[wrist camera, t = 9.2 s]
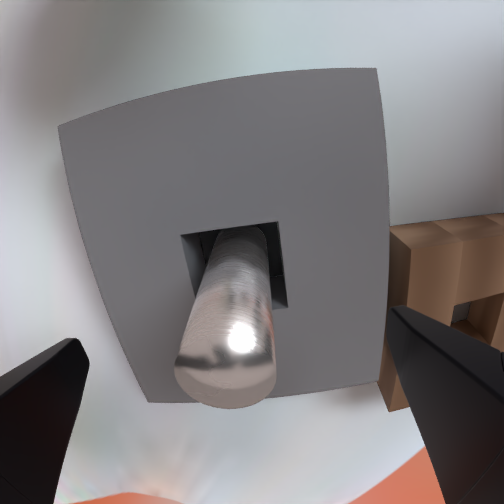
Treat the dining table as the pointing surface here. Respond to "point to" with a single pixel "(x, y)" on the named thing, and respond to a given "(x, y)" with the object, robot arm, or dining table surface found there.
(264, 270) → the steel pin
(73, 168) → the socket plate
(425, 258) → the walnut mount
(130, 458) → the dining table surface
